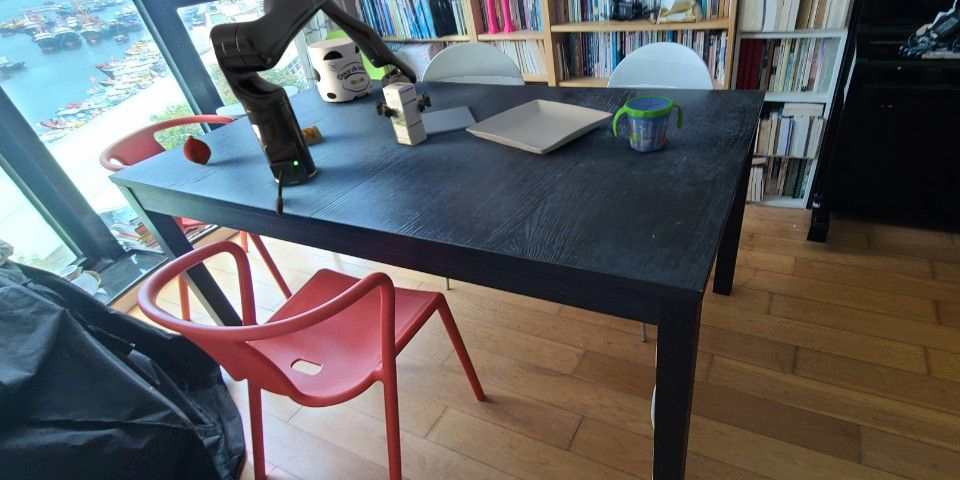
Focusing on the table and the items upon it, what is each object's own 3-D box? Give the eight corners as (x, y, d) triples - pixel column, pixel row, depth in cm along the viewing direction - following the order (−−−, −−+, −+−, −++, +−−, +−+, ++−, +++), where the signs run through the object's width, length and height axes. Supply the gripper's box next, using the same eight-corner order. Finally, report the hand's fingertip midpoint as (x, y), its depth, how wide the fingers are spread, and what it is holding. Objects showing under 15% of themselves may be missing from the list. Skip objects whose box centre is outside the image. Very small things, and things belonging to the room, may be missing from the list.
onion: (199, 171, 123) (182, 141, 118) (187, 167, 126) (171, 138, 121) (221, 162, 127) (205, 132, 122) (209, 158, 129) (194, 130, 125)
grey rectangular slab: (477, 126, 132) (477, 124, 131) (426, 135, 129) (426, 133, 129) (467, 107, 146) (467, 105, 145) (421, 116, 143) (420, 114, 143)
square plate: (614, 126, 123) (615, 111, 120) (543, 165, 108) (541, 148, 105) (538, 109, 139) (536, 96, 136) (466, 141, 123) (463, 126, 121)
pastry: (291, 151, 129) (286, 137, 126) (284, 145, 133) (279, 132, 131) (326, 141, 133) (321, 127, 131) (318, 135, 137) (313, 122, 135)
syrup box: (428, 138, 128) (414, 82, 119) (412, 146, 124) (397, 89, 115) (412, 135, 130) (398, 80, 122) (396, 143, 126) (381, 87, 118)
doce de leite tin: (366, 105, 157) (349, 46, 147) (315, 109, 158) (294, 51, 148) (381, 89, 171) (366, 35, 160) (334, 93, 172) (316, 39, 161)
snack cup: (615, 158, 107) (616, 113, 101) (610, 140, 116) (610, 98, 109) (686, 153, 106) (691, 107, 100) (675, 135, 115) (679, 92, 109)
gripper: (371, 84, 130) (371, 101, 117) (424, 76, 132) (429, 91, 119) (379, 112, 134) (380, 131, 121) (430, 103, 137) (436, 121, 124)
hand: (404, 111), depth 120 cm, fingers closed on syrup box, 8 cm apart
